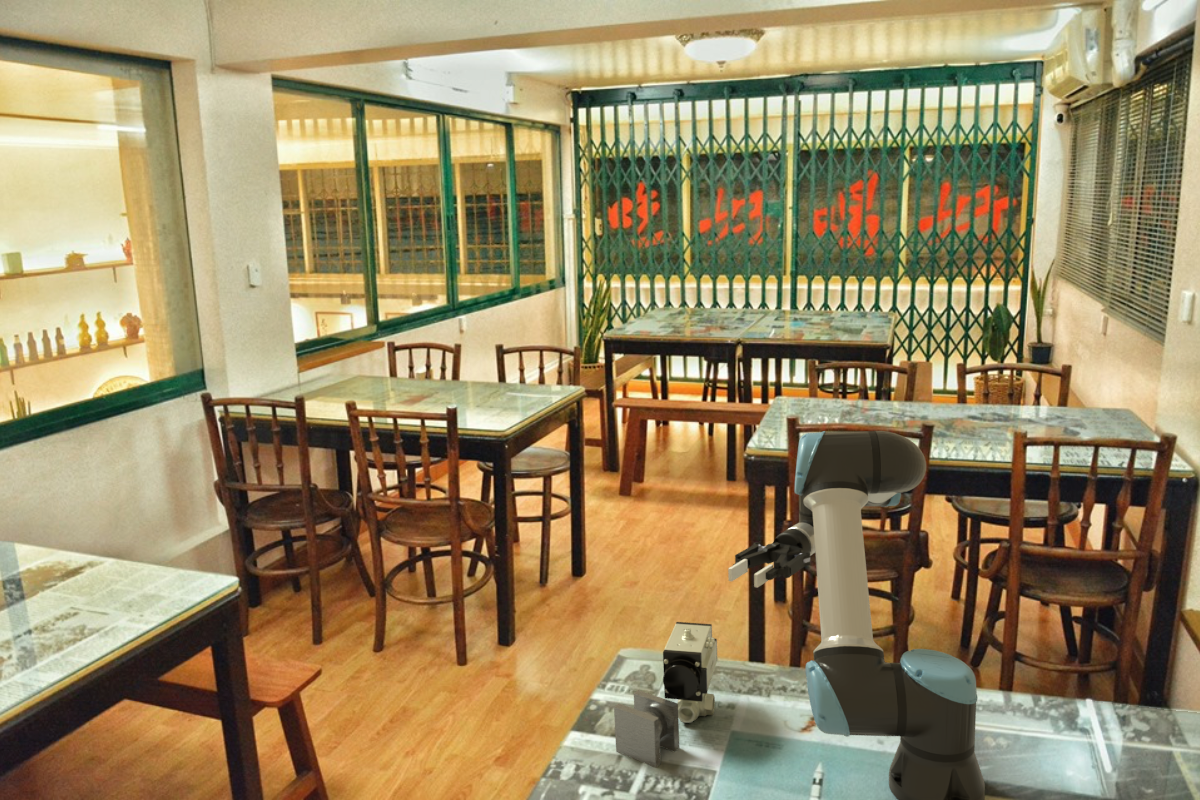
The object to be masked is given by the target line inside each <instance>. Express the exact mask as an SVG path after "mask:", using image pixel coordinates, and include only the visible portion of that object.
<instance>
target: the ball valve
mask: <svg viewBox="0 0 1200 800" xmlns="http://www.w3.org/2000/svg"><path fill="white" fill-rule="evenodd" d="M712 633H713V625H712V623H702V622H701V623H700V622H687V621H686V622H683V621H675V625H674V627H673V629H672V631H671V634H670V635H669V638H668V639H667V642H666V644H665V647H664V649H663V652H662V661H663V662H662V665H663V677H662V684H663V688H664V699H667V700H668V699H670V700H671V699H672V700H677V703H678V720H679V721H681V722H682V723H685V724H686V723H689V724H691V723H693V721H696V720H697V719H698V717H707V716H713V715H714V713H715V709H716V707H715V706H716V697H715V695H714V693H708V691H709V688H710V686H711V685H710V684H711V682H712V679H713V675H714V672H715V669H716V667H717V663H718V639H717V638H715V637H713V634H712Z"/></svg>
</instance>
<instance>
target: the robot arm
mask: <svg viewBox="0 0 1200 800" xmlns="http://www.w3.org/2000/svg"><path fill="white" fill-rule="evenodd" d="M796 455H797V457H796V466H795V478H794V494H796V495H798V505H799V507H798V508H799V509H798V510H799V511H798V522H797V523H796V524H794V525H793V526H791V527H789V528H786V529H785V530H784V531H782V532H781V533H779V534H777V536H775V538H774V540H773V542H772V543H768V544H767V545H764V546H763V545H761V544H760V542H753V544H752V545H751V546H749V547H747V548H746V549H744V550H742V551H740V552H738V553H736V554H735V555H734V563H733V564H732V565H731V566H730V567H728V571H727V572H728V575H727V577H728V581H729V582H730V583H731V582H734V581H735V580H737V579H738V578H739V577H742V576H743V575H745V574H746V573H748V572H749V569H751V568H754V567H757V566H761V565H762V564H767V565H766V566H764V567H763V568H762V569H760V570H758V571H757V572H755V573H754V574H753V584H754V585H753V586H754V588H759V587H761V586H762V585H764V584H765V583H767V582H769V581H772V580H774V579H776V578H780V577H781V576H783V578H785V579H789V578H790V577H792V576H793V575H795V574H796V573H798V572H799V571H801V569H803V568H804V567H808V566H810V565H811V556H812V555H813V554H815V566H816V578H817V579H816V581H817V592H818V594H817V597H818V609H819V622H820V623H819V625H820V635H821V636H820V637H821V638H820V640H821V642H820V643H819V644H818V646H816V648H815V649H813V653H812V654H813V659H812V660H810V661H807V662H806V663H805V677H806V687H807V693H808V699H809V705H810V709H811V712H812V716H813V720H814V722H815V725H816V727H817V728H818V730H819V731H820V732H822V733H824V734H828V735H839V736H845V737H847V738H848V737H850V736H870V737H871V736H874V737H876V736H878V737H899V739H900V741H899V744H898V746H897V749H896V751H895V754H894V756H893V758H892V762H891V764H890V766H889V770H888V787H889V789H890V792H891V793H892V795H893V796H894V797H895V798H896V800H986V799H985V797H986V795H985V794H986V784H985V780H984V776H983V773H982V771H981V767H980V764H979V762H978V758H977V756H976V753H975V748H976V747H975V741H976V718H977V715H976V714H977V713H976V712H977V701H978V694H977V693H978V692H977V679H976V674H975V672H974V671H973V670H972V668H971V667H970V666H969V665H968V664H966V663H965V662H964V661H962V660H961V659H960V658H957V657H955V656H953V655H951V654H949V653H946V652H943V651H939V650H934V649H926V648H915V649H914V648H913V649H911V650H907V651H905V652H904V653H903V654H902V655H901V657H900V658H899V659H900V660H899V662H885V654H884V650H883V648H881V646H880V645H878V644H877V643H876V642H875V641H874V637H873V626H872V615H871V614H872V613H871V605H870V604H871V603H870V593H869V586H868V585H869V584H868V582H869V581H868V574H867V573H868V572H867V564H866V563H867V562H866V553H865V551H866V550H865V543H864V533H863V519H862V509H863V508H864V507H881V508H885V507H896V506H898V505H899V504H900V502H901V499H902V498H901V497H902V493H906V492H909V491H911V490H913V489H915V488H916V487H917V486H919V485H920V484H921V482H922V481H923V480H924V478H925V476H926V471H927V462H926V457H925V456H924V453H923V452H922V450H921V449H920V447H919V446H918V445H917V444H916V443H914V441H912V440H910V439H909V438H907V437H905V436H903V435H900V434H898V433H895V432H891V431H886V430H885V431H884V430H874V431H873V430H872V431H871V430H870V431H867V430H866V431H825V430H824V431H821V432H820V431H819V432H818V431H817V432H807V433H805V434H803V435H802V436H800V438H799V441H798V447H797V454H796ZM772 563H773V564H772Z"/></svg>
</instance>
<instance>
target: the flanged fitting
mask: <svg viewBox="0 0 1200 800" xmlns="http://www.w3.org/2000/svg"><path fill="white" fill-rule="evenodd" d="M633 706H634V708H633V707H630V706H628V705H626V704H622V703H617V704H616V705H614V707H613V711H614V712H613V713H614V732H615V733H614V734H615V735H614V736H615V752H616V753H619V754H622V755H623V756H627V757H629V758H630V759H631V758H632V759H633V760H636V761H639V762H641V763H644V764H646V765H648V766H651V767H653V768H658V766H660V765H661V763H662V762H661V748H663V749H666V750H669V751H671V752H674V753H675V752H677V751H678V750H679V749H680V734H679V733H680V730H679V729H680V728H679V727H680V724H679V718H678V702H674V701H671V700H668V699H667V698H662V697H660V696H658V695H654V694H651V693H649V692H646V691H642V690H640V689H638V690H636V691H635V692H633Z"/></svg>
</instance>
